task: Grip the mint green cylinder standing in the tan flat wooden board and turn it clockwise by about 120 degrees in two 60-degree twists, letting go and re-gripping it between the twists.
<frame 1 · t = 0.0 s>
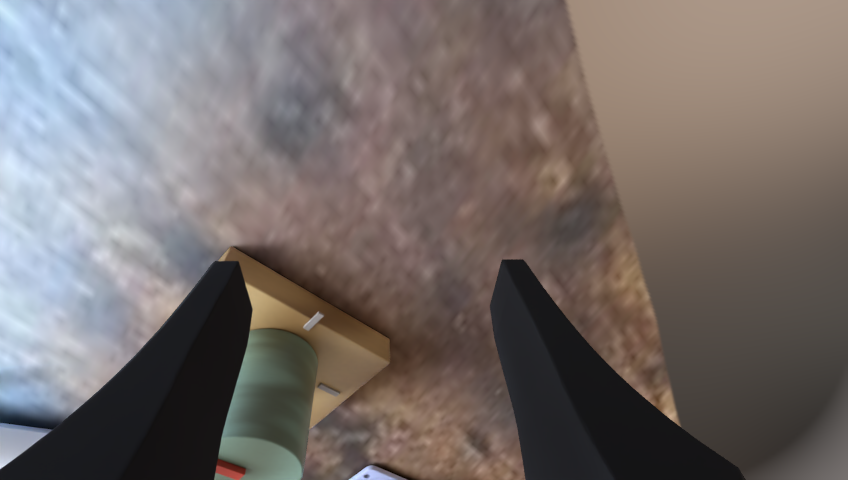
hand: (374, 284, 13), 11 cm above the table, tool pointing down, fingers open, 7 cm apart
mint green cylinder: (258, 412, 23), point 5 cm above the table, hinge at 0.0°
tan flat wooden board: (277, 335, 28), on the table
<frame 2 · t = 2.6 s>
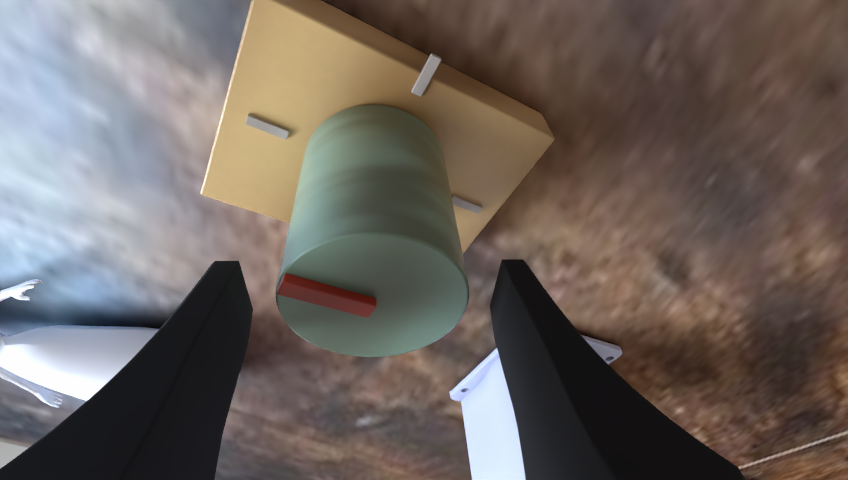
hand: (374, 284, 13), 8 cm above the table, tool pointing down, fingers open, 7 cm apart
woman figurine: (76, 326, 26), on the table
mint green cylinder: (374, 228, 15), point 5 cm above the table, hinge at 0.0°
tan flat wooden board: (375, 139, 19), on the table
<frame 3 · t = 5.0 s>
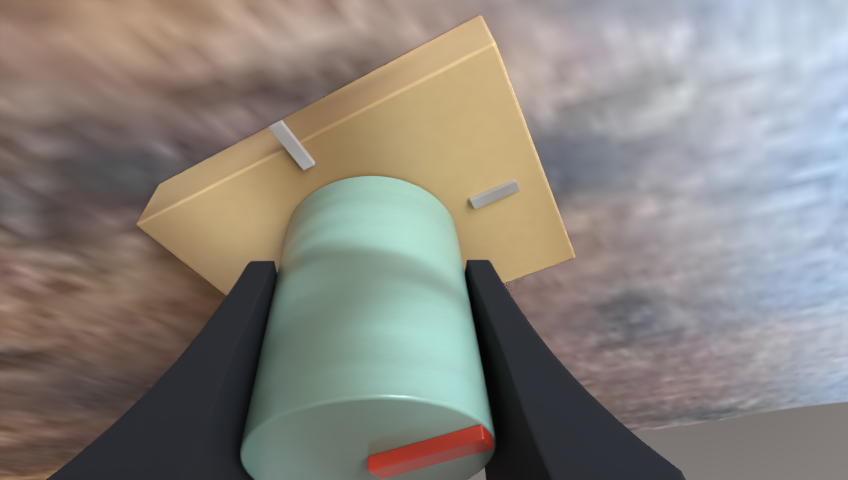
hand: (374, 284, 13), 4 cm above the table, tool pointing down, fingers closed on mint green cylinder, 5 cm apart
mint green cylinder: (372, 336, 12), point 5 cm above the table, hinge at 0.0°, touching gripper
tan flat wooden board: (373, 202, 16), on the table
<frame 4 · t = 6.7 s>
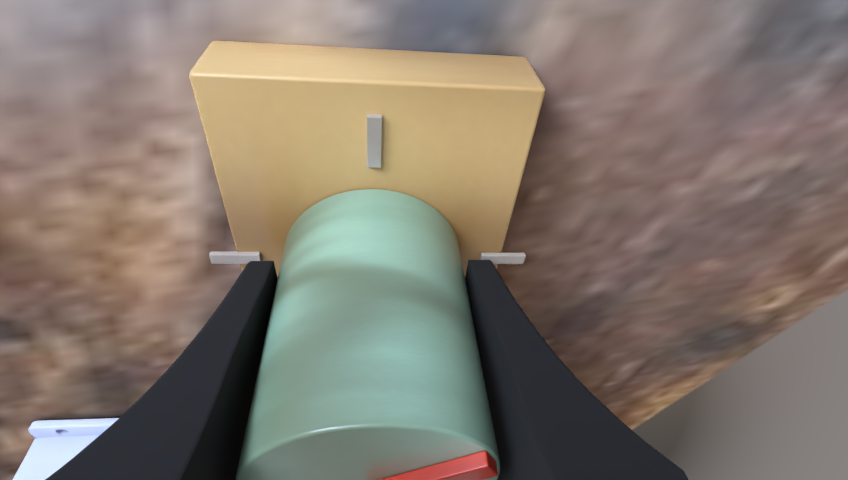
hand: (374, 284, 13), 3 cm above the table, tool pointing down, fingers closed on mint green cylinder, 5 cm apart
mint green cylinder: (372, 353, 11), point 5 cm above the table, hinge at -59.3°, touching gripper
tan flat wooden board: (373, 214, 15), on the table
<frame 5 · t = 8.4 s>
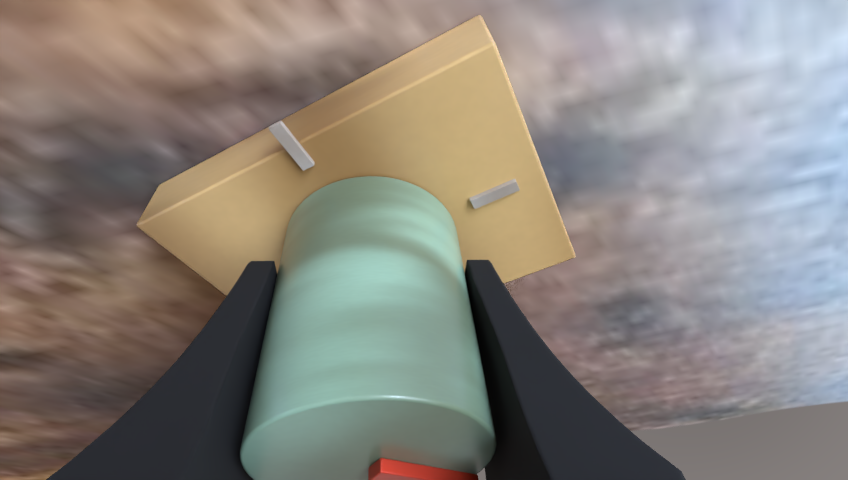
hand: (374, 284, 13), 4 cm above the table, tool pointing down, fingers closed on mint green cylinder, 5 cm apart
mint green cylinder: (372, 336, 12), point 5 cm above the table, hinge at -58.6°, touching gripper
tan flat wooden board: (373, 203, 16), on the table
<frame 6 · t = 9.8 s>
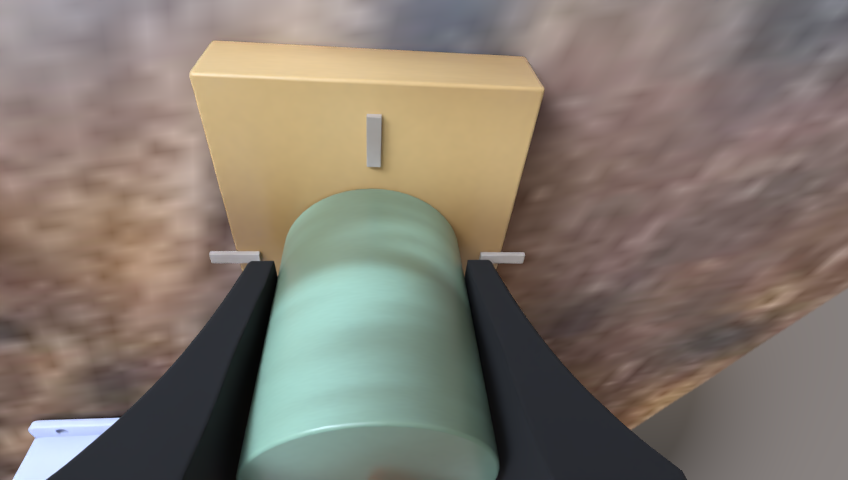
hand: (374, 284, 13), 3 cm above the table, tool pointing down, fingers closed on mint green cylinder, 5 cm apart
mint green cylinder: (372, 352, 12), point 5 cm above the table, hinge at -117.9°, touching gripper
tan flat wooden board: (373, 213, 16), on the table
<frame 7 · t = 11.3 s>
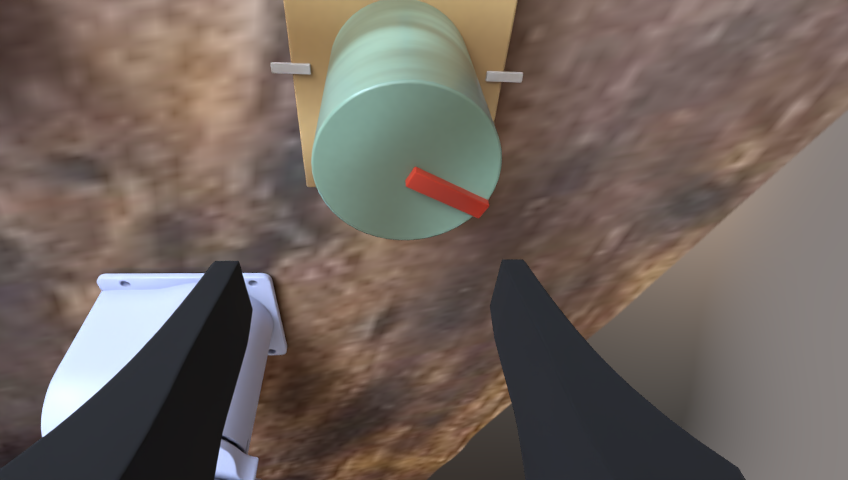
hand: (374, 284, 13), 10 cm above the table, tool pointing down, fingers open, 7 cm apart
mint green cylinder: (403, 116, 15), point 5 cm above the table, hinge at -117.2°
tan flat wooden board: (398, 51, 19), on the table
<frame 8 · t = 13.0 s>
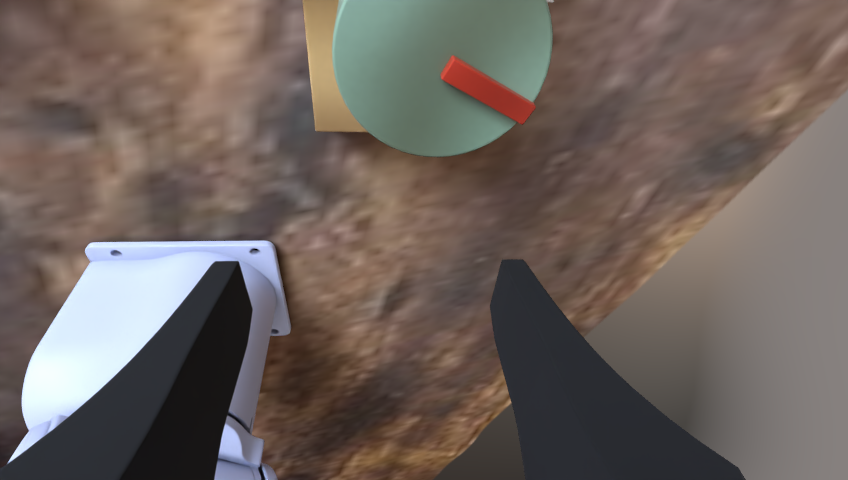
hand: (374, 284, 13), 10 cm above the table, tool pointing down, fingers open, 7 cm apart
mint green cylinder: (430, 21, 13), point 5 cm above the table, hinge at -117.2°
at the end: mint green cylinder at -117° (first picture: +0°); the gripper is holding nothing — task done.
